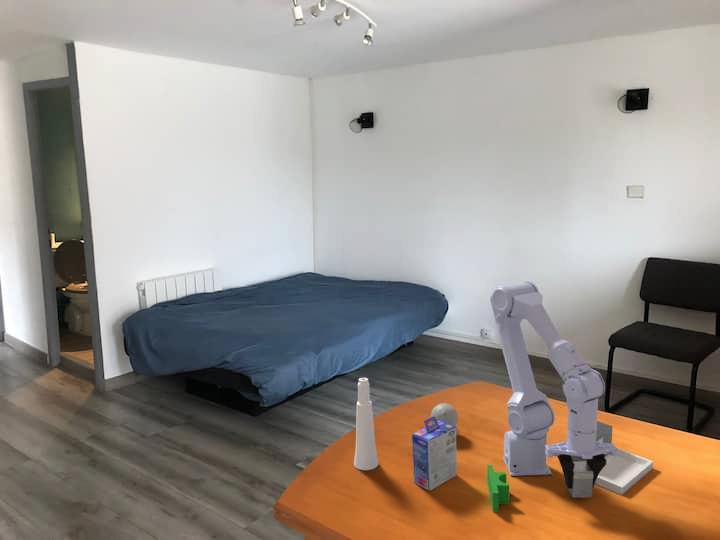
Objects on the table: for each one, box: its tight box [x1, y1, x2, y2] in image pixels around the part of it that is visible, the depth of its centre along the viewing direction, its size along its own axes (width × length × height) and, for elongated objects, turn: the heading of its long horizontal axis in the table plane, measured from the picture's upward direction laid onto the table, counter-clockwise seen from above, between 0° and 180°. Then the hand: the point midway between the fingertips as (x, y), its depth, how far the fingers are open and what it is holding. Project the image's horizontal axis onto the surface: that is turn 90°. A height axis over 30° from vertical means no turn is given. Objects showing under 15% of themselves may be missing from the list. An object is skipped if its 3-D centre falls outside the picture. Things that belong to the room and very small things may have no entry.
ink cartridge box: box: [411, 416, 458, 492], centre depth 129 cm, size 10×6×14 cm, turn 131°
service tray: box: [594, 447, 654, 496], centre depth 129 cm, size 16×9×2 cm, turn 130°
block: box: [565, 461, 593, 498], centre depth 121 cm, size 4×4×6 cm
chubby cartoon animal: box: [430, 402, 459, 436], centre depth 152 cm, size 7×12×8 cm, turn 0°
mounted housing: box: [571, 420, 614, 462], centre depth 136 cm, size 13×5×7 cm, turn 130°
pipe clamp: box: [486, 464, 510, 513], centre depth 122 cm, size 11×4×5 cm, turn 173°
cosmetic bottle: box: [353, 377, 379, 471], centre depth 135 cm, size 6×6×22 cm
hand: (579, 485), depth 121 cm, fingers closed on block, 4 cm apart
